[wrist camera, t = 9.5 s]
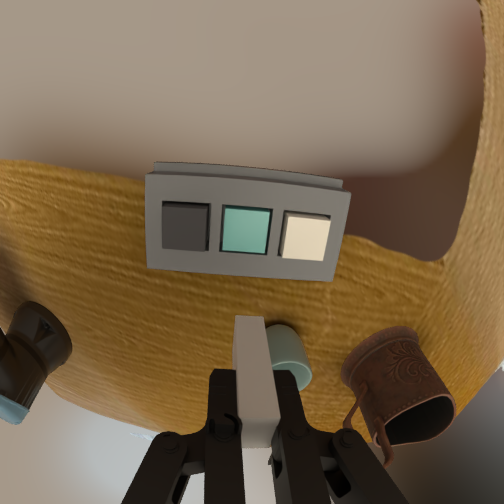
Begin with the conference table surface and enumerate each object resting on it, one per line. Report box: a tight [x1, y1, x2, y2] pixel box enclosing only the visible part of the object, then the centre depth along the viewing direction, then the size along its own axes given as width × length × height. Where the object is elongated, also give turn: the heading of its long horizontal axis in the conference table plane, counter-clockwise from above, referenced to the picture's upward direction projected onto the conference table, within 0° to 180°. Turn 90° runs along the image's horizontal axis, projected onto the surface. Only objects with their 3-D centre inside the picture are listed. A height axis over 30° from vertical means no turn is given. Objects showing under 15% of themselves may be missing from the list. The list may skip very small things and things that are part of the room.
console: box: [145, 162, 351, 281], centre depth 34 cm, size 24×14×4 cm, turn 84°
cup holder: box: [341, 326, 456, 469], centre depth 37 cm, size 18×24×25 cm
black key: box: [162, 201, 209, 252], centre depth 31 cm, size 5×5×3 cm
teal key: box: [222, 205, 270, 253], centre depth 33 cm, size 5×5×3 cm
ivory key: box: [279, 210, 331, 261], centre depth 33 cm, size 5×5×3 cm
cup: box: [265, 324, 312, 391], centre depth 39 cm, size 8×8×10 cm
